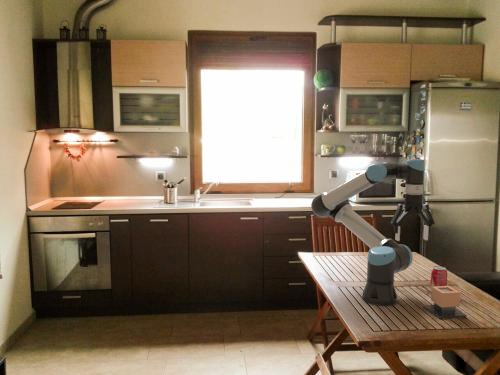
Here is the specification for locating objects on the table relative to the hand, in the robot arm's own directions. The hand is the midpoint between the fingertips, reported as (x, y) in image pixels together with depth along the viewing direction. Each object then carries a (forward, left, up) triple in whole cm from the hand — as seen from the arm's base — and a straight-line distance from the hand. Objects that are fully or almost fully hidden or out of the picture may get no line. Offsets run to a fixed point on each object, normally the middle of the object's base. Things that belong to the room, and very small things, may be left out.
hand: (411, 240), depth 199 cm
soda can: (+17, +4, -27) cm, 32 cm away
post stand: (+6, -19, -27) cm, 33 cm away
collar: (+6, -19, -23) cm, 30 cm away
